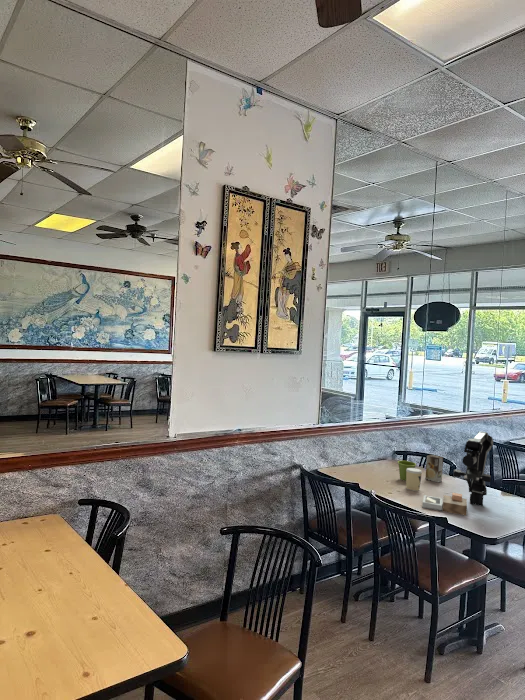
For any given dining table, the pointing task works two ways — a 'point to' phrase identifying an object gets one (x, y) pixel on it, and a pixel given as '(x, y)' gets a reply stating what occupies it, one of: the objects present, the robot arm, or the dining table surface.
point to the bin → (431, 505)
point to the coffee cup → (413, 479)
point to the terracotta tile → (456, 496)
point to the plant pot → (403, 466)
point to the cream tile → (430, 500)
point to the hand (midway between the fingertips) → (470, 491)
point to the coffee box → (434, 468)
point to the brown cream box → (454, 505)
